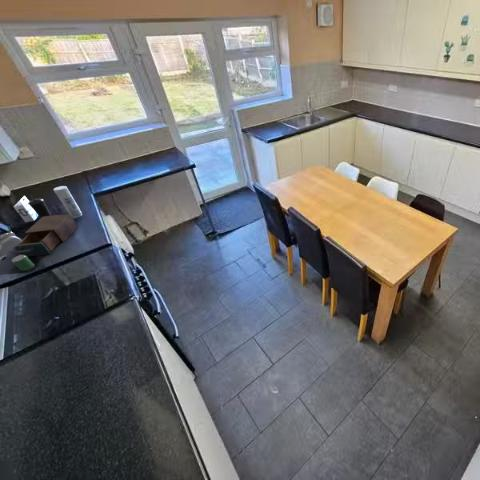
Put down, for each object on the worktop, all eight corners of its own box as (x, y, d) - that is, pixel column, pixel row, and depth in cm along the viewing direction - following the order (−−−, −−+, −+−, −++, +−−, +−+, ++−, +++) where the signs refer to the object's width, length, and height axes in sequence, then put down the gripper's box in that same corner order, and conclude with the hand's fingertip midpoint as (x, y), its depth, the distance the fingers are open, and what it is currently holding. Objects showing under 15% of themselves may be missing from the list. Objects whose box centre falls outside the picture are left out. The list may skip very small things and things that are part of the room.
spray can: (77, 212, 184) (61, 185, 173) (85, 213, 183) (69, 186, 171) (68, 217, 179) (50, 189, 168) (76, 218, 178) (58, 190, 166)
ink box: (29, 216, 181) (15, 196, 173) (39, 214, 183) (25, 195, 175) (24, 222, 175) (9, 202, 166) (34, 220, 177) (19, 200, 168)
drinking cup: (55, 215, 182) (37, 188, 170) (56, 220, 177) (38, 192, 166) (40, 220, 178) (20, 192, 166) (41, 224, 173) (21, 196, 162)
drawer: (45, 260, 146) (35, 249, 141) (17, 263, 144) (6, 252, 139) (65, 237, 161) (57, 226, 156) (41, 240, 160) (31, 229, 155)
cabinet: (63, 242, 159) (53, 229, 153) (36, 245, 157) (24, 232, 151) (78, 226, 171) (69, 213, 165) (53, 229, 170) (42, 216, 164)
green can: (20, 274, 139) (8, 262, 134) (27, 266, 143) (16, 255, 138) (32, 272, 140) (20, 261, 134) (38, 265, 144) (28, 253, 139)
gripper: (3, 226, 121) (20, 238, 133) (-51, 260, 110) (-27, 271, 121) (16, 234, 122) (32, 246, 133) (-36, 269, 111) (-14, 278, 122)
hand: (3, 258), depth 127 cm, fingers closed
